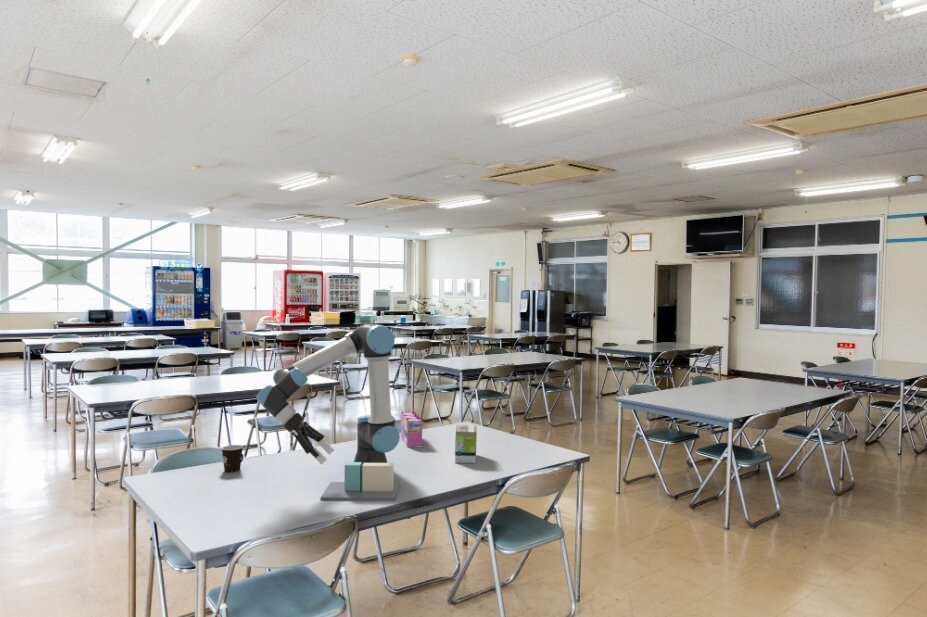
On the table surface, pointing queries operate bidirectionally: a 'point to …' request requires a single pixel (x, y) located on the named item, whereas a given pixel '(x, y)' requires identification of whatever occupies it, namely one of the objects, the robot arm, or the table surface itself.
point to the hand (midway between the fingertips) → (328, 457)
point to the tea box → (465, 444)
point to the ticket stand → (367, 485)
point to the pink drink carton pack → (411, 429)
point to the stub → (353, 476)
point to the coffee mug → (232, 457)
